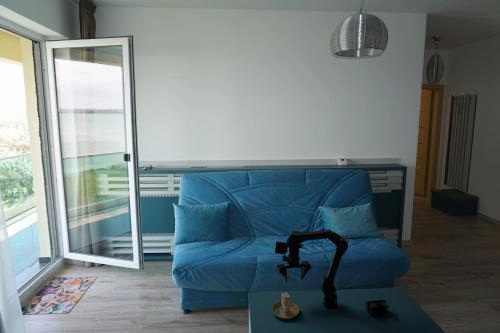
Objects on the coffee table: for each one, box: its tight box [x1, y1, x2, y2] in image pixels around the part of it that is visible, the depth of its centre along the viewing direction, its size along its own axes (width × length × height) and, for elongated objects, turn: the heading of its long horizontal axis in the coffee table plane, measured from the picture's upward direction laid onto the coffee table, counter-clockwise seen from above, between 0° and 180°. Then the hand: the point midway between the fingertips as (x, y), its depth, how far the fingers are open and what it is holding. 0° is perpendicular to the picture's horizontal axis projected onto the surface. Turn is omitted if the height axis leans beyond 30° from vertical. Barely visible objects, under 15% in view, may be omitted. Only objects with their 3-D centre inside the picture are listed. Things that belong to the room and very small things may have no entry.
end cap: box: [364, 298, 390, 318], centre depth 174 cm, size 10×7×7 cm
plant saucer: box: [271, 301, 301, 320], centre depth 175 cm, size 15×15×3 cm
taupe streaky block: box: [280, 291, 291, 312], centre depth 174 cm, size 3×5×8 cm, turn 14°
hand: (293, 281), depth 184 cm, fingers open, 9 cm apart
